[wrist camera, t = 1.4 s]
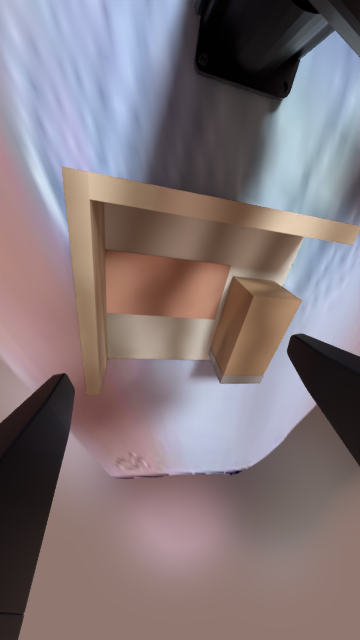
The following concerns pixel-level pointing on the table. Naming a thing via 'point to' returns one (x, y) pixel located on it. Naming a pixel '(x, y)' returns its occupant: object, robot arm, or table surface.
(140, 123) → the table surface
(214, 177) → the table surface
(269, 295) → the walnut block
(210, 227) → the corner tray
